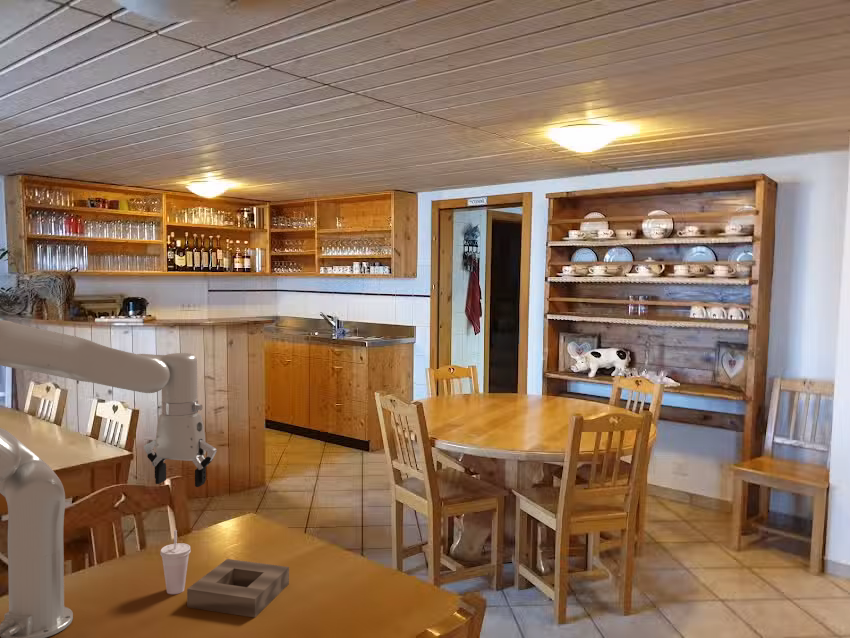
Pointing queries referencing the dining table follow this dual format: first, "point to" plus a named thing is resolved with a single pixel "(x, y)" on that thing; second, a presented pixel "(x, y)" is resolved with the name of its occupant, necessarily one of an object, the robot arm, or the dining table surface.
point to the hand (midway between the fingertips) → (180, 483)
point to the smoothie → (175, 565)
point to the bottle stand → (238, 587)
